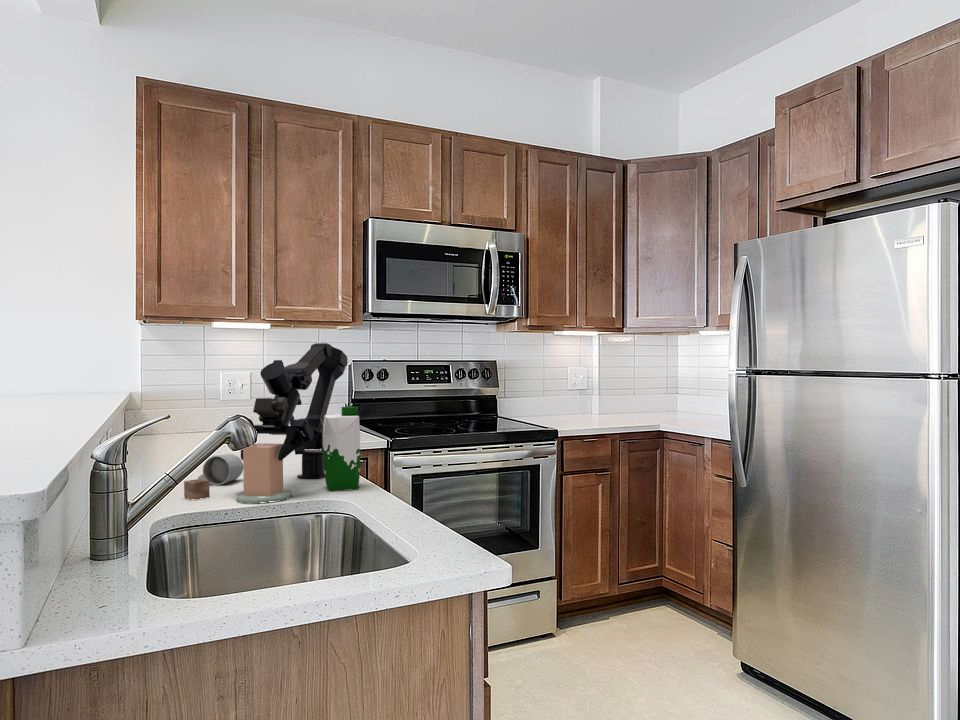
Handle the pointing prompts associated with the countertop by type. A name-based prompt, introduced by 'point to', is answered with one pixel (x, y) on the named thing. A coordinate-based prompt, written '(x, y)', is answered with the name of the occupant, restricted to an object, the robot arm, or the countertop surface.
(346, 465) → the milk carton
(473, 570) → the countertop surface
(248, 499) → the dish
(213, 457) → the ceramic mug
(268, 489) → the pinkish brown brick
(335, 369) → the robot arm
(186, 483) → the block
